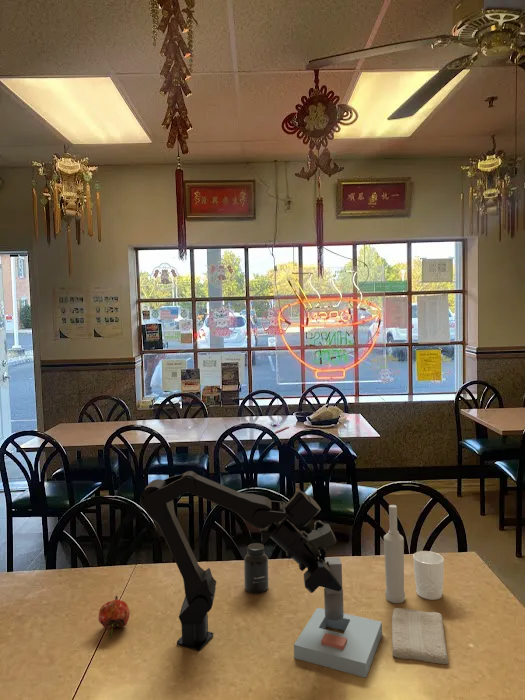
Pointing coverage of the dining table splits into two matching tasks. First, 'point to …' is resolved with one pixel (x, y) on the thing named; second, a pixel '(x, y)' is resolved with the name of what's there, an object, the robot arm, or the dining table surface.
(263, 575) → the supplement bottle
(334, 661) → the socket plate
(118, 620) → the pomegranate
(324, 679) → the dining table surface
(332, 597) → the plug
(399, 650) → the washcloth
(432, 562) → the white cup
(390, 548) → the bottle
